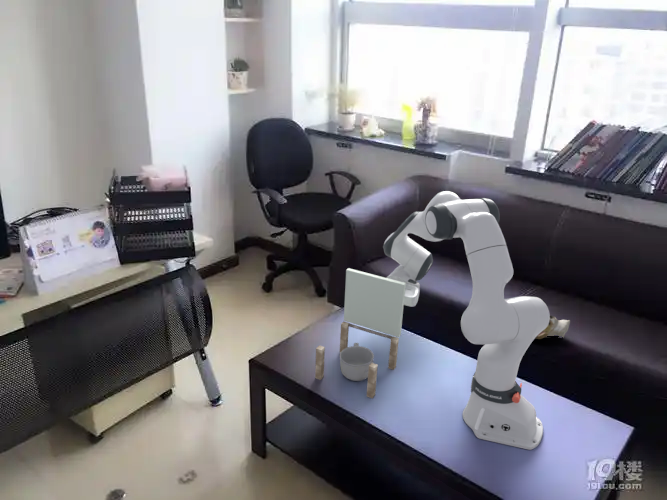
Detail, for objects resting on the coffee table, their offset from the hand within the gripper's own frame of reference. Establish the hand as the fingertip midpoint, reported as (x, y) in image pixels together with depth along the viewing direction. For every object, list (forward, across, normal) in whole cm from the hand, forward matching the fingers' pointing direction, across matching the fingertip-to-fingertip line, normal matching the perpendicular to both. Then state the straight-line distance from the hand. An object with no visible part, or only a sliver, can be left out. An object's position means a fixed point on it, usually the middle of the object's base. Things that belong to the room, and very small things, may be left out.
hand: (380, 301), depth 193 cm
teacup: (+16, 0, +19) cm, 25 cm away
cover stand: (+16, 0, +19) cm, 25 cm away
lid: (+7, 0, -2) cm, 7 cm away
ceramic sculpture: (-41, +50, +19) cm, 67 cm away
